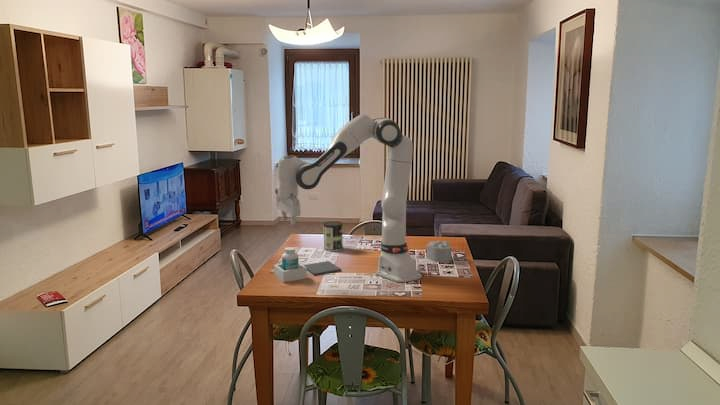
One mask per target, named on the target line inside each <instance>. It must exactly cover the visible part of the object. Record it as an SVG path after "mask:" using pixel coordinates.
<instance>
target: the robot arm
mask: <svg viewBox="0 0 720 405" xmlns="http://www.w3.org/2000/svg"><path fill="white" fill-rule="evenodd" d="M371 138H373V139H374V140H376V141H377V142H378V143H381V144H383V145H386V146H387V148H388V150H387V151H388V154H387V159H386V169H385V176H384V182H383V188H382V195H381V201H380V204H381V205H380V206H381V210H382V216H381V220H382V221H381V243H380V250H381V252H380V254H379V257H378V265H377V270H376V271H375V275H376V276H380V277H382V278H385V279H387V280H391V281H393V282H396V283H407V282H413V281H417V280H419V279H421V278H422V277H423V276H422V275H423V274H421V273H420V272H418V271H417V261H416V259H413V258H412V256H411V255H410V253H409V252H408V251H409V246H408V244H407V243H408V242H407V241H406V240H407V238H406V237H407V234H406V233H407V232H406V231H407V228H406V226H407V224H406V223H407V198H408V194H409V193H408V191H409V183H410V177H411V171H412V170H411V169H412V163H413V149H414V148H413V147H414V146H413V141H412V139H411V137H409V136H407V135H403V134H402V131H401V128H400V126H399V125H398V123H397V122H396V121H394V120H393V119H390V118H388V117H387V118H385V117H380V118H379V117H378V118H375V119H373V118H371V117H370V116H369V115H367V114H363V113H362V114H359V115H357V116H356V117H354V118H352V119H350V121H348V122H346V124H344V125H343V126H342V127H341V128H340V129H339V130H338V131H337V132H336V133H335V135H333V138H332V141H331V143H330V146H329V147H328V149H327V150H326V151H325V152H324V153H323V154H322V155H321V156H319V157H318V158H317V159H316V160H315V161H314V162H313V163H311V162H307V161H305V160H303V159H301V158H299V157H297V156H296V155H294V154H291V155H285V156H282V157H281V158H279V160H278V161H277V162H278V164H277V178H278V179H277V180H278V183H277V188H275V189H274V193H275V195H276V196H275V199H276V206H277V209H278V210H280V211H281V212H280V213H281V216H282V220H283V221H287V220H288V215H289V216H290V221H289V222H290V223H289V224H290V225H291V226H295V225H296V220H297V217H300V216H301V213H302V212H301V203H300V202H301V201H300V200H299V198H298V196H299V188H301V189H303V190H312V189H314V188H316V187H317V186H318V184H319V183H320V181H321V178H322V177H323V175H324V174H325V173H326V172H327V171H328V170H329V169H330V168H331V167H333V166H335V164H336V163H337V162H338V161H339V160H340V159H342V158H344V157H345V156H347V155H348V154H350V153H353V151H355V150H356V149H357V148H358V147H360V146H361V145H362V144H363V143H364V142H365V141H367V140H369V139H371Z"/></svg>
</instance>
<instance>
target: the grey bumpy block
mask: <svg viewBox="0 0 720 405" xmlns="http://www.w3.org/2000/svg"><path fill="white" fill-rule="evenodd" d="M452 250H453V246H452V245H451V244H450V243H449V241H447V240H444V241H441V240H439V239H438V240H433V241H430V242H427V244H426V258H427V259H428V260H430V261H432V262H436V263H445V264H446V263H450V262H451V261H452Z"/></svg>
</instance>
